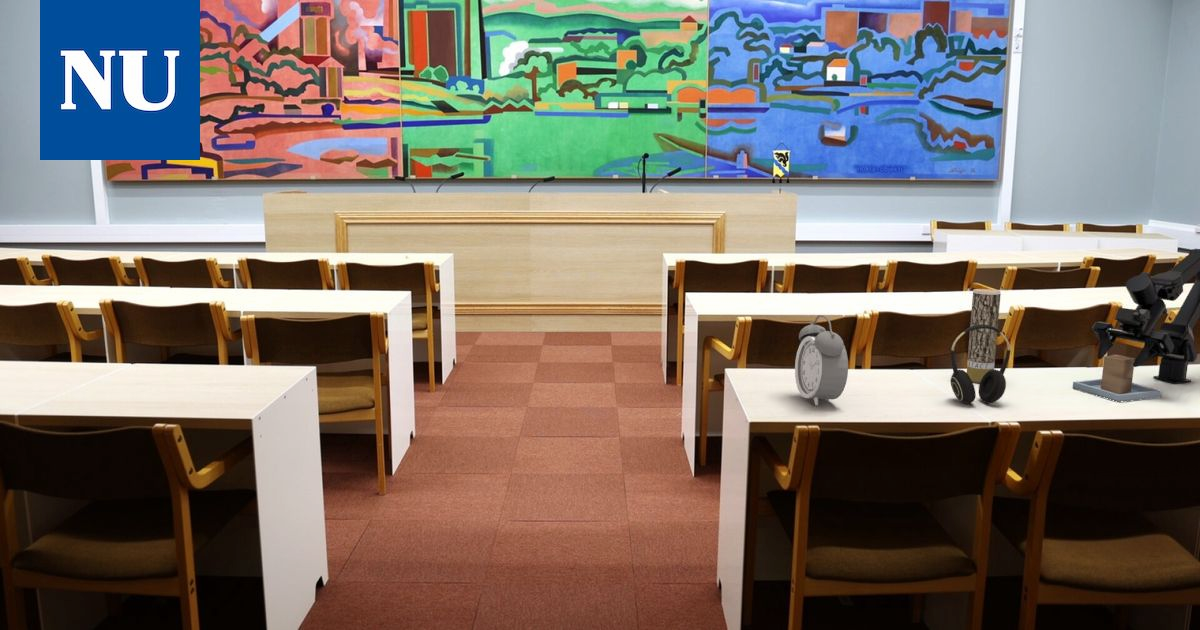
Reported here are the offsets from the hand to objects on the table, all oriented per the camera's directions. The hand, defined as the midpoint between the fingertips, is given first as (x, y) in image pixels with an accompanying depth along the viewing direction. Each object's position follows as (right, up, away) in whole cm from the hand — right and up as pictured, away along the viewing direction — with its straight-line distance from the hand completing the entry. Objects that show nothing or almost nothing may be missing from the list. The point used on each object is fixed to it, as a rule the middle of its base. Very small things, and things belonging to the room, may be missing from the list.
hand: (1116, 362), depth 225 cm
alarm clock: (-78, -10, -6) cm, 79 cm away
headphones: (-39, -10, -7) cm, 41 cm away
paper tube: (-29, -6, +14) cm, 33 cm away
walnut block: (+1, -8, +2) cm, 8 cm away
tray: (+1, -8, +2) cm, 9 cm away
